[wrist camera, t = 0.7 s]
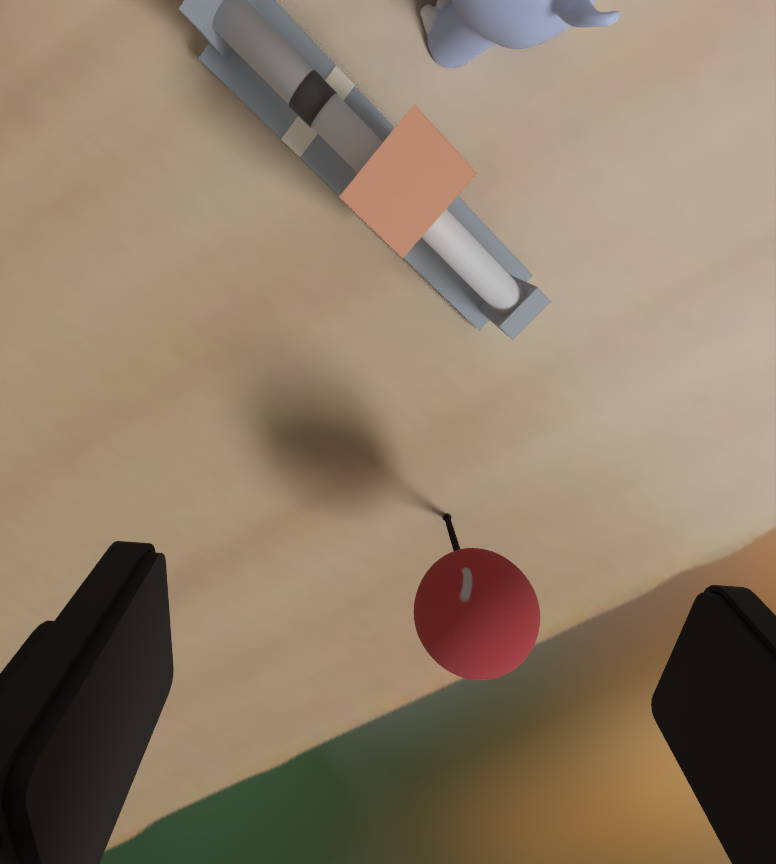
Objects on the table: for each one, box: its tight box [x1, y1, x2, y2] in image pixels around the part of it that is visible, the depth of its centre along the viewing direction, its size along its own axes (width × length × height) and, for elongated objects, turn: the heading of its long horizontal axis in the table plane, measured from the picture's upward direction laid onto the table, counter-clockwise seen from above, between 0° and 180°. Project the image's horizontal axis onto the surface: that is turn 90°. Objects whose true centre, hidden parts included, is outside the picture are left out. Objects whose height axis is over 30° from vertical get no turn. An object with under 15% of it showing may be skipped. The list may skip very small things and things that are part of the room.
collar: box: [339, 104, 477, 258], centre depth 28 cm, size 5×4×8 cm
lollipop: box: [414, 514, 540, 680], centre depth 37 cm, size 8×8×15 cm
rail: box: [179, 0, 551, 340], centre depth 30 cm, size 5×23×7 cm, turn 47°
